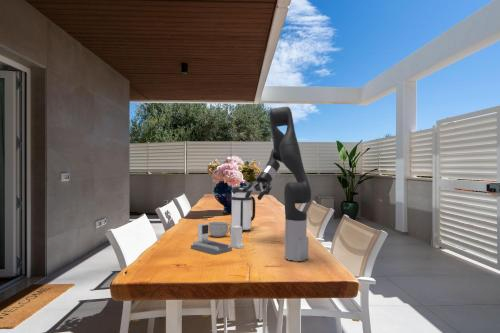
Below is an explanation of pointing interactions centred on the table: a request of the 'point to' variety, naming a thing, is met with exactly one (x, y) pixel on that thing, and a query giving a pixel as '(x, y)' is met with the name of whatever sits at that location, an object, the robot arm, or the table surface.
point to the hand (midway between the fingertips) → (252, 198)
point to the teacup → (218, 228)
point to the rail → (208, 242)
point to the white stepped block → (236, 237)
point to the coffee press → (242, 207)
